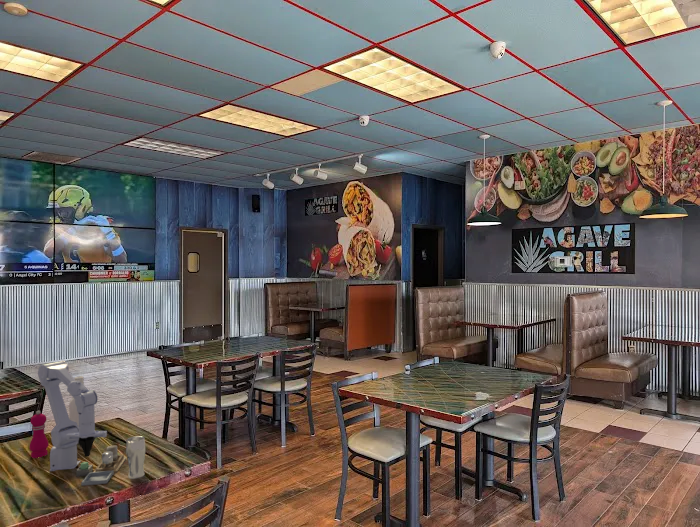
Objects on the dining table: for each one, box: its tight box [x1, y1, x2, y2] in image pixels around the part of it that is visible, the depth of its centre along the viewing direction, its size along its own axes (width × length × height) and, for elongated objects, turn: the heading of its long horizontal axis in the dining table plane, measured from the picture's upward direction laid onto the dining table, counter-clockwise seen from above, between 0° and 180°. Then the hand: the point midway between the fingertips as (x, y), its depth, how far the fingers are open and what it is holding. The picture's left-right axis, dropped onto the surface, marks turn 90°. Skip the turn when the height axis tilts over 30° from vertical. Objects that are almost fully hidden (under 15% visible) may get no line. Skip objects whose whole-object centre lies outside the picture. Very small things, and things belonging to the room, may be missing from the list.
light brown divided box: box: [93, 444, 127, 473], centre depth 208 cm, size 9×14×7 cm, turn 10°
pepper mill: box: [28, 410, 50, 459], centre depth 222 cm, size 7×7×20 cm
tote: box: [80, 470, 115, 487], centre depth 195 cm, size 9×9×2 cm
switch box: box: [75, 464, 94, 477], centre depth 201 cm, size 5×5×3 cm
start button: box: [80, 461, 89, 469], centre depth 201 cm, size 3×3×4 cm
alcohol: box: [68, 375, 85, 427], centre depth 241 cm, size 9×9×30 cm
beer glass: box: [125, 435, 146, 480], centre depth 198 cm, size 7×7×15 cm
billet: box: [101, 451, 113, 468], centre depth 204 cm, size 4×4×6 cm
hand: (87, 455), depth 202 cm, fingers closed
